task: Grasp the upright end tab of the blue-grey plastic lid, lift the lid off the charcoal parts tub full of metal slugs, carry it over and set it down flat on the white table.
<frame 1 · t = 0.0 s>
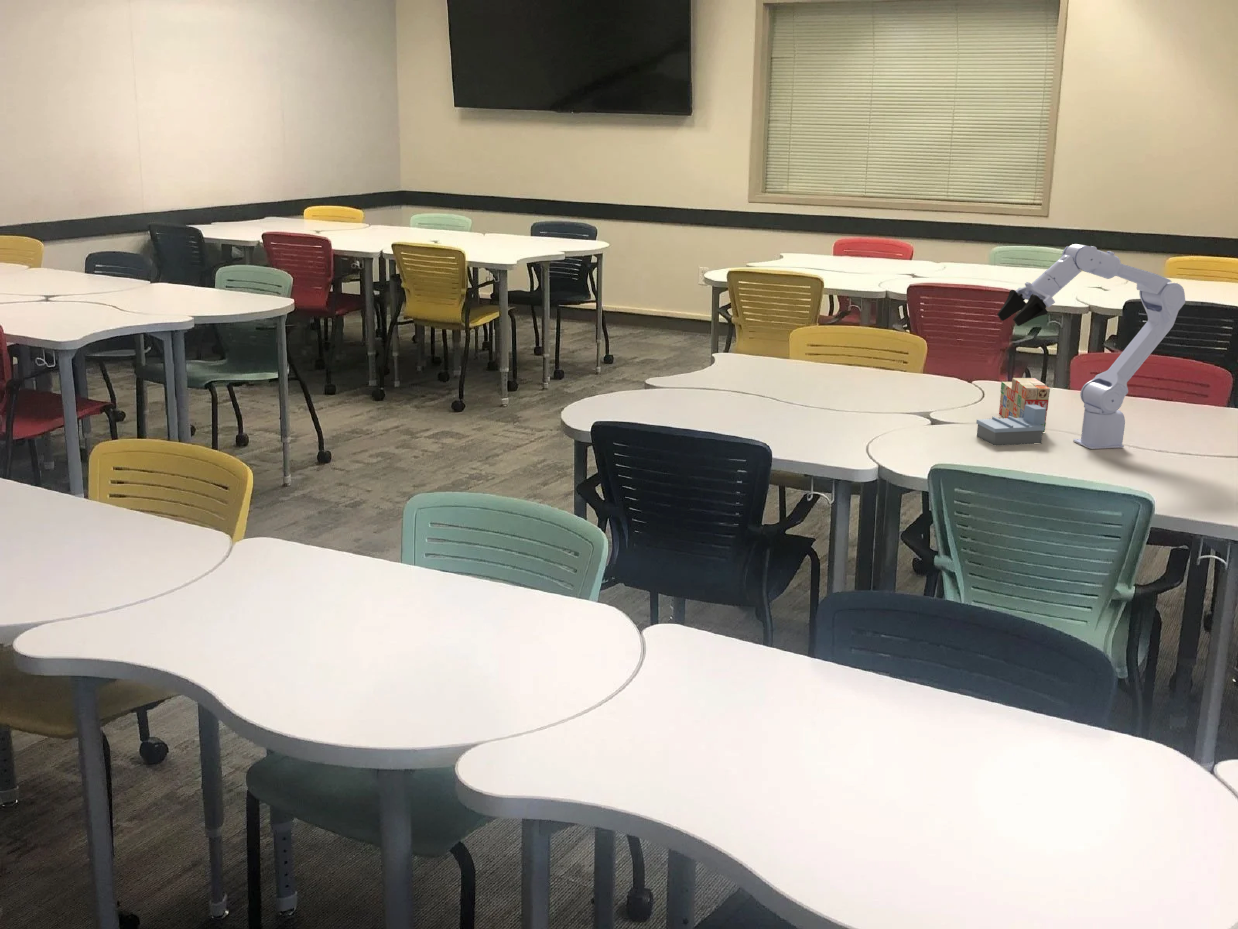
hand: (1007, 320, 287), 32 cm above the table, tool tilted 50°, fingers open, 7 cm apart
tub: (1008, 440, 305), on the table
lid: (1010, 426, 304), point 3 cm above the table, touching tub
stack of blocks: (1020, 424, 323), on the table
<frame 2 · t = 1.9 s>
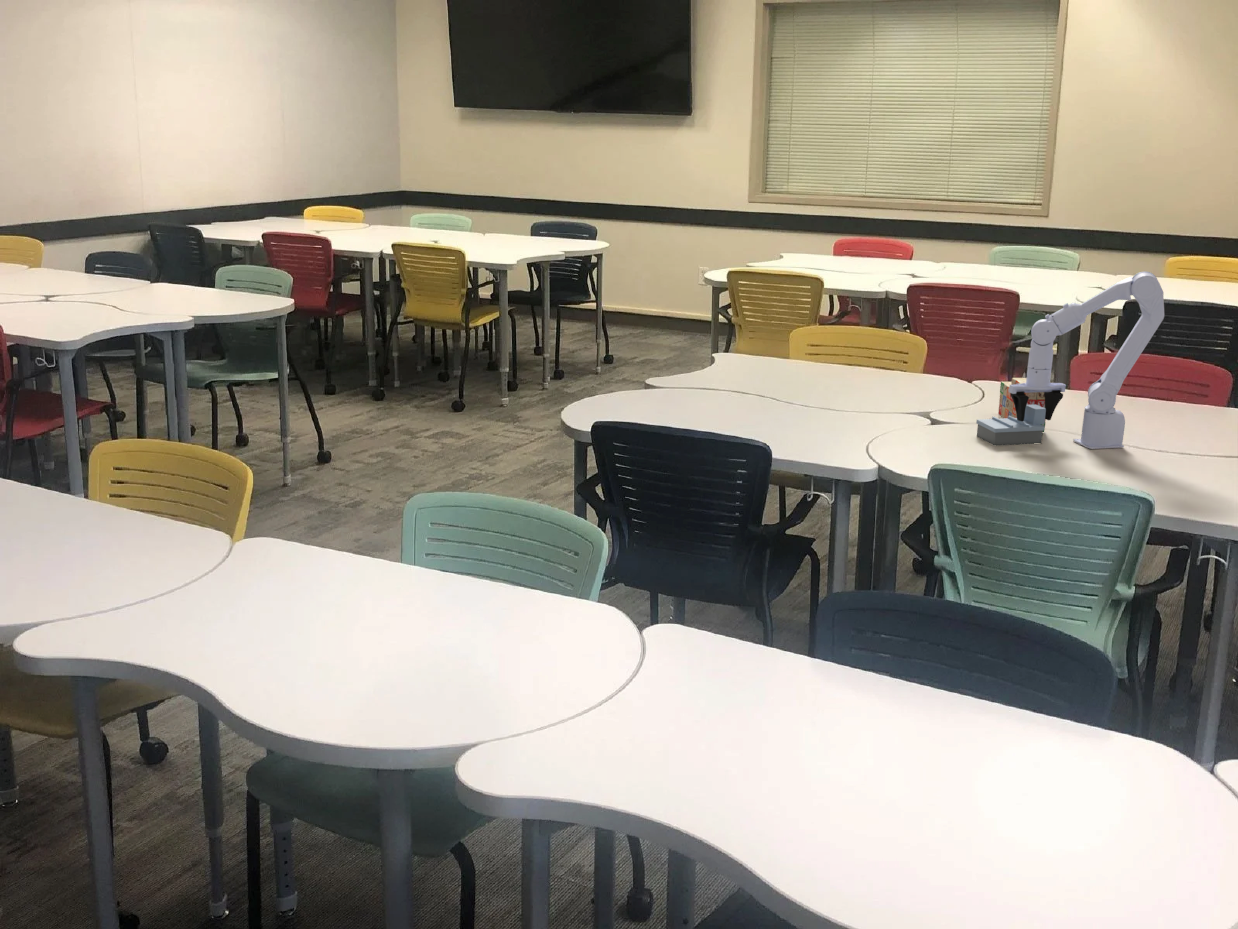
hand: (1033, 419, 305), 5 cm above the table, tool pointing down, fingers open, 7 cm apart
lid: (1010, 426, 304), point 3 cm above the table, touching gripper, tub
everything else where it was.
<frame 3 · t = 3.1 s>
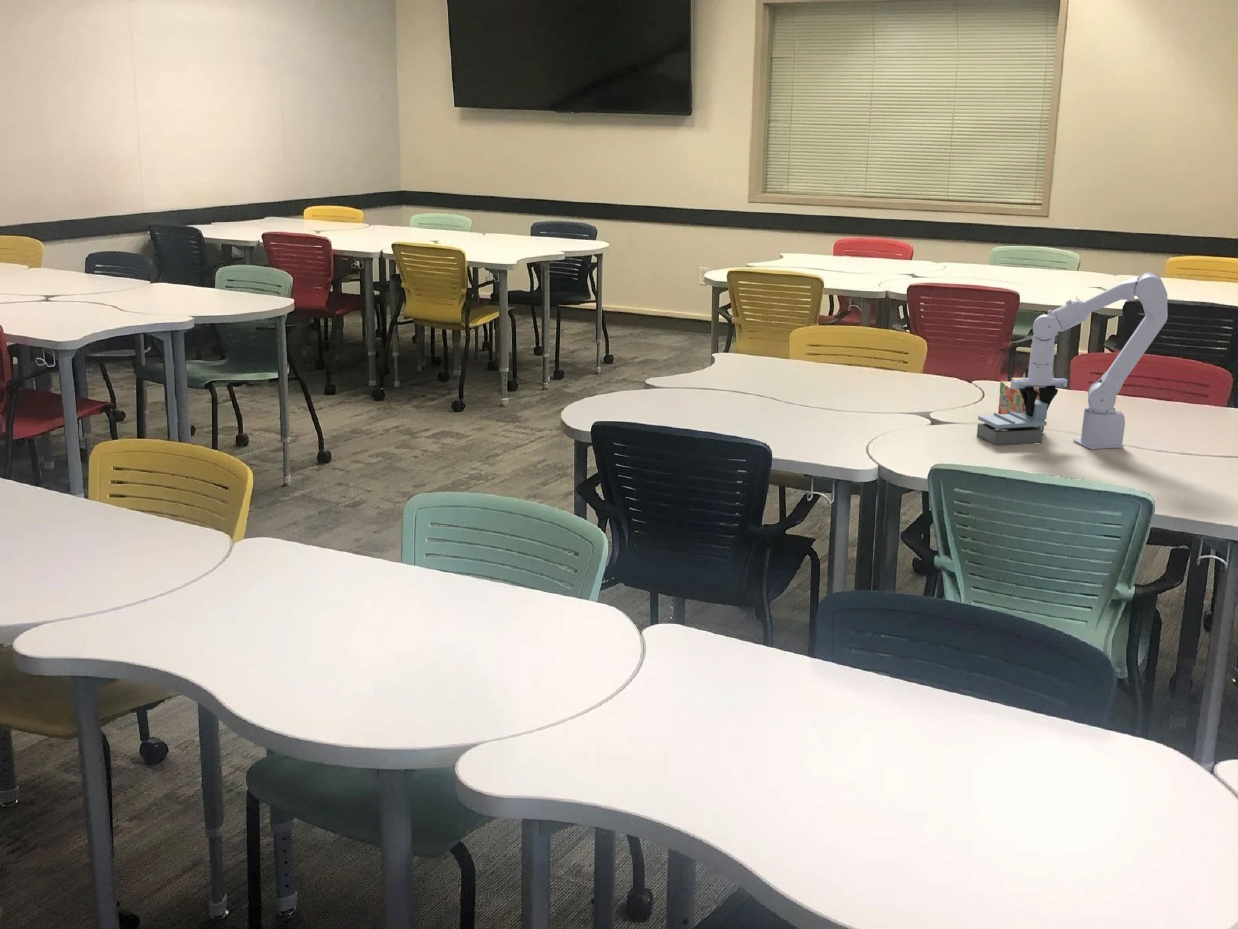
hand: (1035, 415, 305), 6 cm above the table, tool pointing down, fingers closed on lid, 3 cm apart
lid: (1011, 422, 304), point 5 cm above the table, touching gripper
everything else where it was.
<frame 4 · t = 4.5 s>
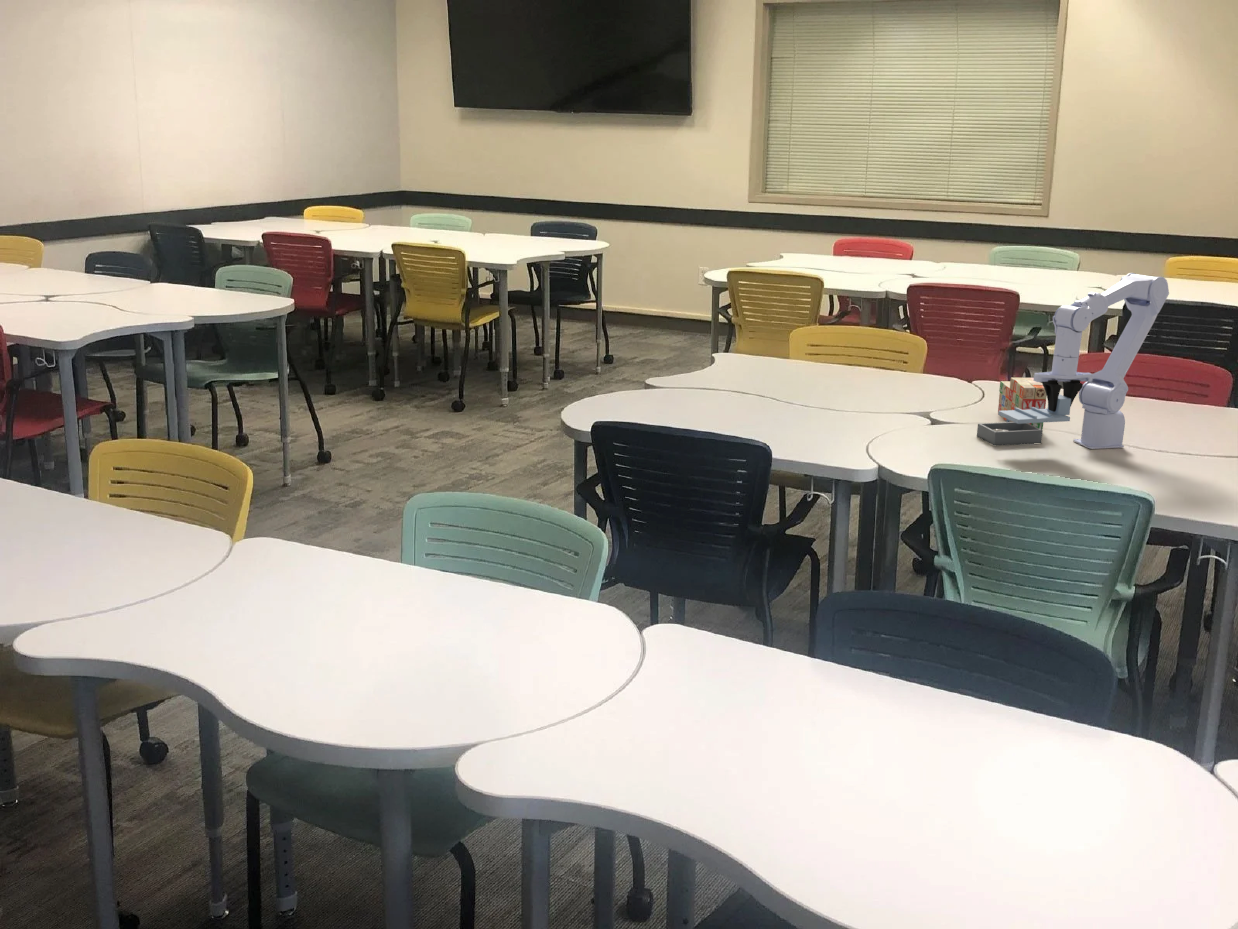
hand: (1058, 410, 292), 10 cm above the table, tool pointing down, fingers closed on lid, 3 cm apart
lid: (1033, 417, 291), point 9 cm above the table, touching gripper
everything else where it was.
when the fingers open (3 cm above the table, at t = 6.5 s): lid drops 1 cm, on the table.
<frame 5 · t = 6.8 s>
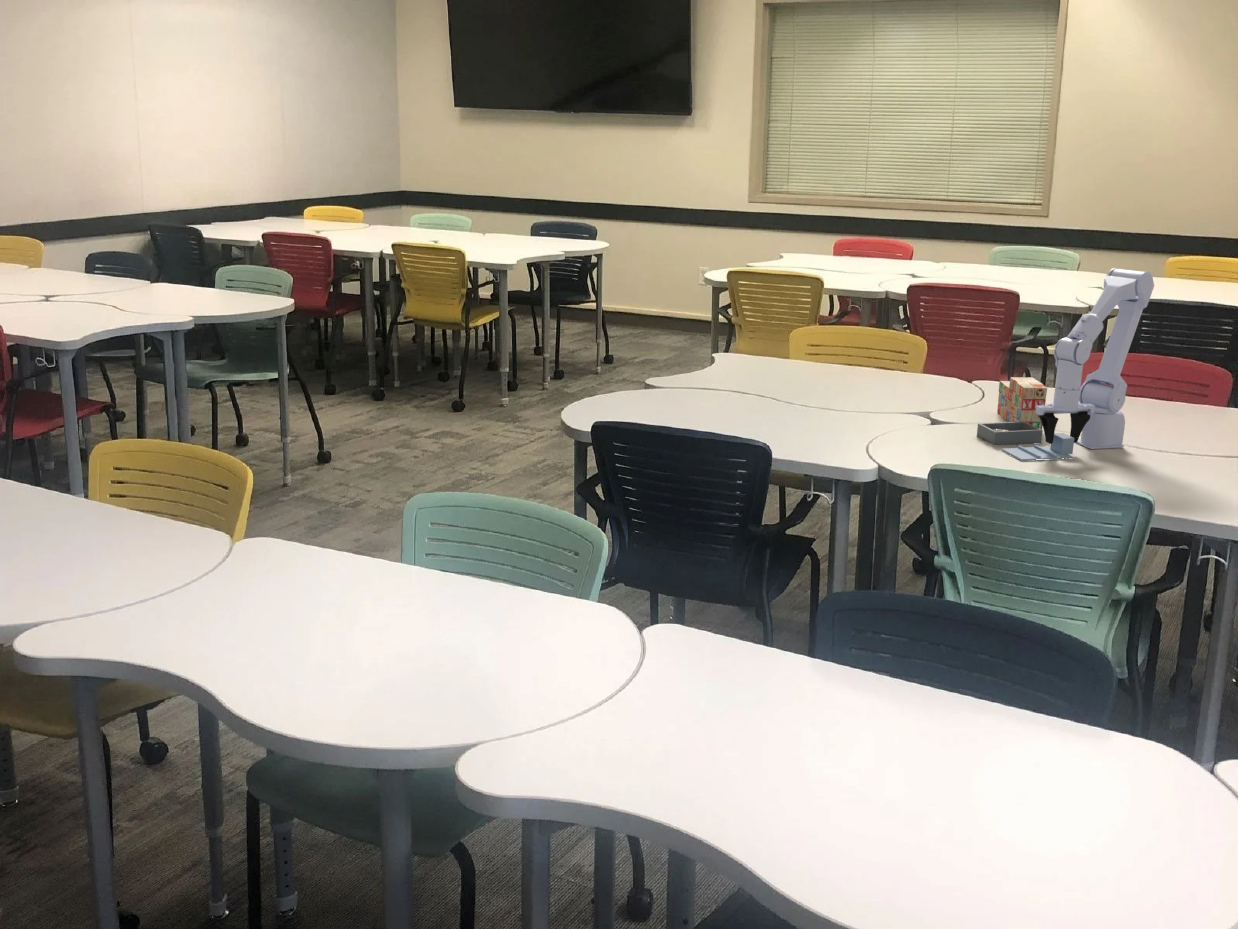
hand: (1061, 442, 292), 3 cm above the table, tool pointing down, fingers open, 6 cm apart
lid: (1036, 456, 292), on the table
everything else where it was.
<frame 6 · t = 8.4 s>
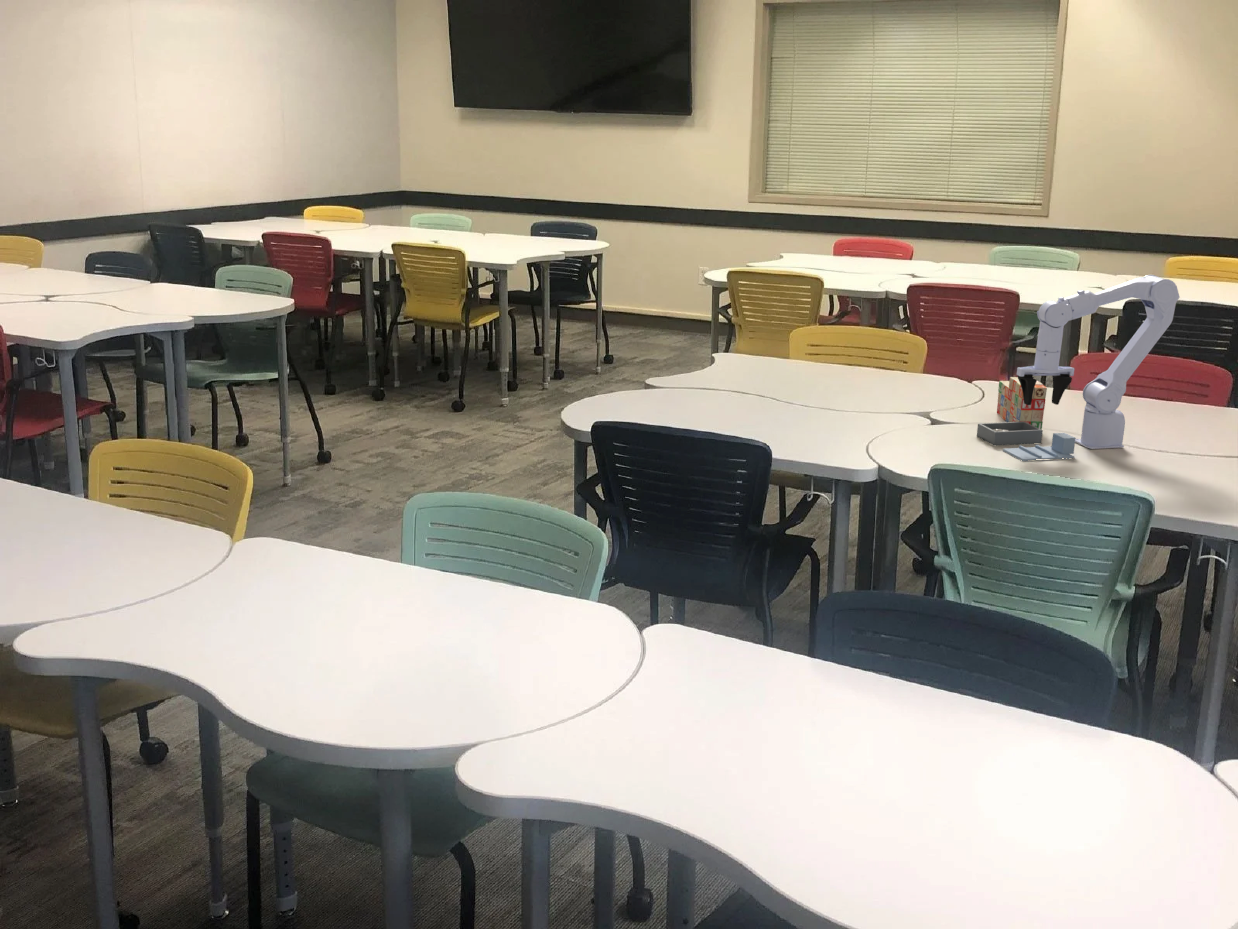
hand: (1041, 404, 299), 10 cm above the table, tool pointing down, fingers open, 7 cm apart
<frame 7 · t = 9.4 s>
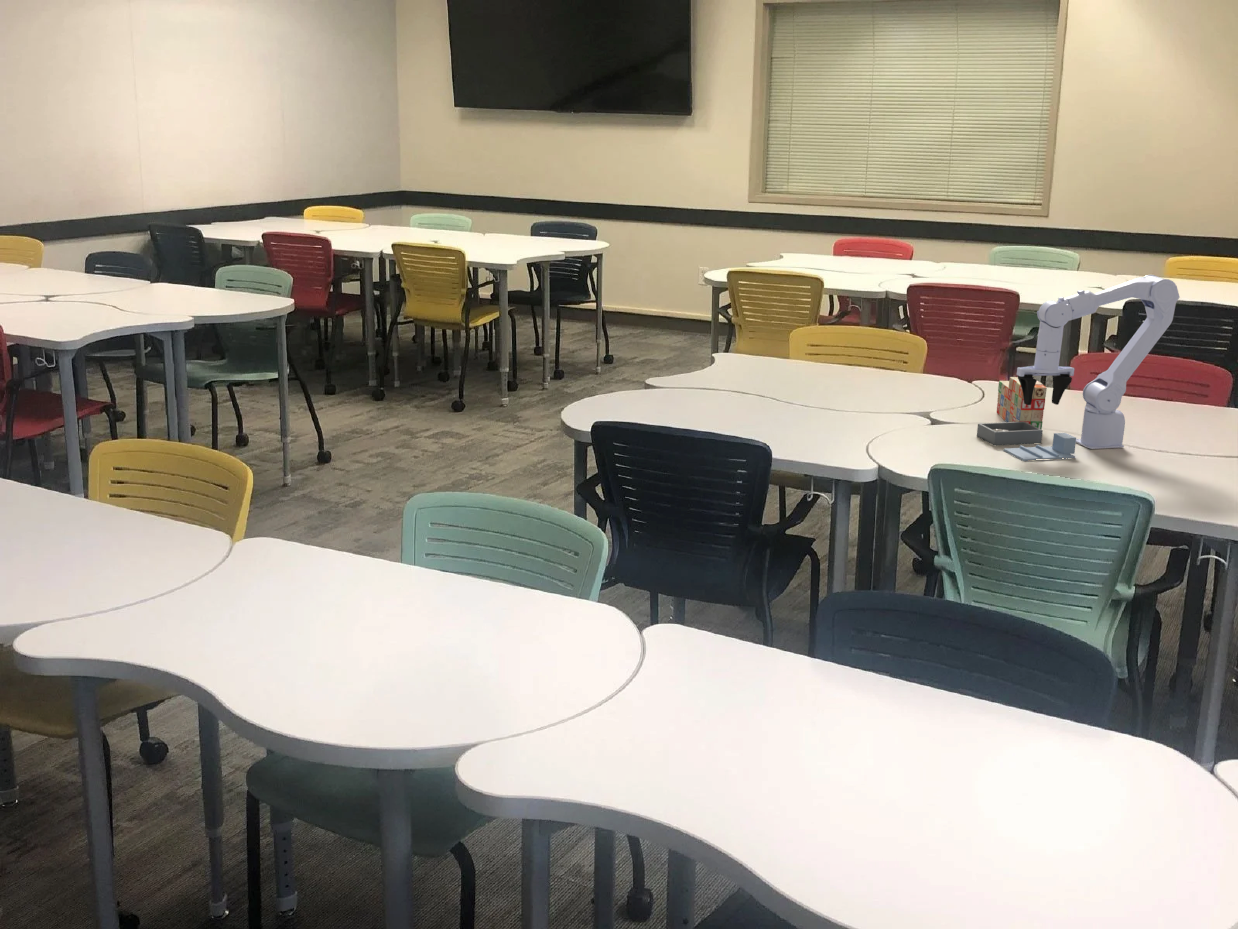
hand: (1041, 404, 299), 10 cm above the table, tool pointing down, fingers open, 7 cm apart
at the end: lid inside the target area (1.4 cm from its centre), on the table; lid touching table; the gripper is holding nothing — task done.
